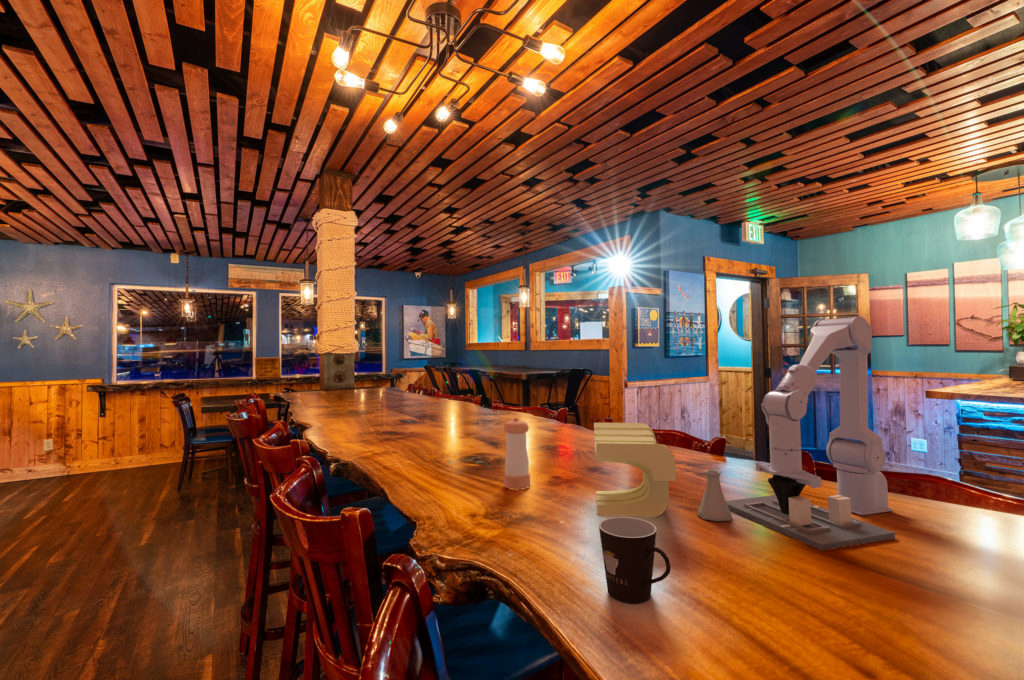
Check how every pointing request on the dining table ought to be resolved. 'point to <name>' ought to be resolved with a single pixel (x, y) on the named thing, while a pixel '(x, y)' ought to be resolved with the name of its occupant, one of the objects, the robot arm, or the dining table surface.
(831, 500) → the fader
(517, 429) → the pepper shaker
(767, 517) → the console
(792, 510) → the fader
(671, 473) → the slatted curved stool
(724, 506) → the flask
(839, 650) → the dining table surface
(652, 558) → the coffee mug
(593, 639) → the dining table surface
